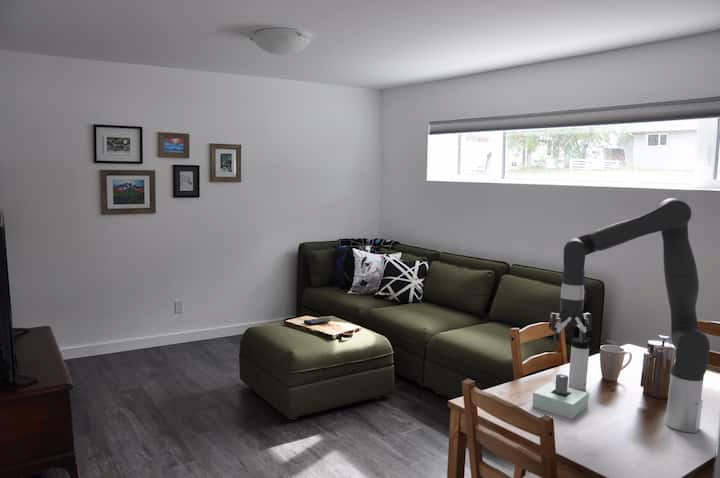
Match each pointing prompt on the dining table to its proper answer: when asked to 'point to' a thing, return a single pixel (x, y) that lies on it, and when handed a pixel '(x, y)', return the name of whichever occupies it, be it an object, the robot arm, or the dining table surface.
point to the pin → (561, 385)
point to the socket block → (560, 401)
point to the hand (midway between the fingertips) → (569, 342)
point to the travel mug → (579, 364)
